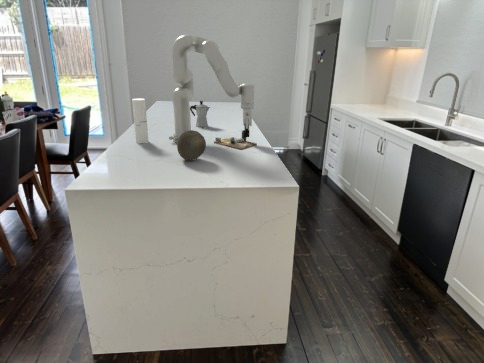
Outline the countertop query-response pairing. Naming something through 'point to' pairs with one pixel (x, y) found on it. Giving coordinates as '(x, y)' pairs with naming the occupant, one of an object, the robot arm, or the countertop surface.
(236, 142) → the swing bar
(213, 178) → the countertop surface
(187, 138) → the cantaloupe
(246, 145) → the plate
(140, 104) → the cylindrical container
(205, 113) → the coffee maker
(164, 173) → the countertop surface
